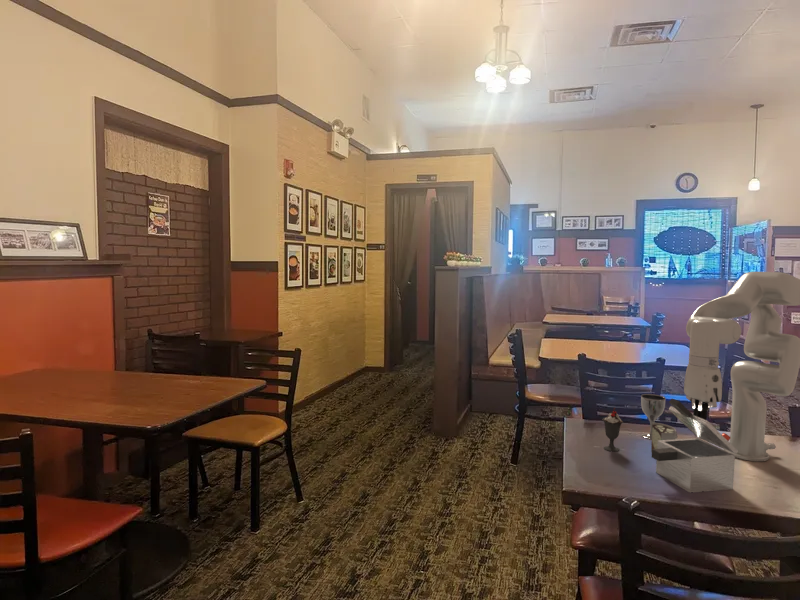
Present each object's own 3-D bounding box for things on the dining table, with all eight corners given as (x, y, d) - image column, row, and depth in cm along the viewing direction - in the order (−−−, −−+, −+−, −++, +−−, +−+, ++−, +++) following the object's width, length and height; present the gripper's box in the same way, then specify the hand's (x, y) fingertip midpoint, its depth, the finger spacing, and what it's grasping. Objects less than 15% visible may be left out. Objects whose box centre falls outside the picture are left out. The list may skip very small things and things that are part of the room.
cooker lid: (697, 437, 160) (703, 429, 161) (735, 454, 146) (742, 446, 146) (655, 397, 156) (661, 389, 157) (690, 410, 142) (697, 402, 143)
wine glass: (667, 440, 187) (669, 399, 185) (645, 440, 187) (647, 399, 185) (656, 433, 194) (658, 394, 193) (635, 433, 195) (637, 393, 193)
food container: (681, 466, 164) (683, 435, 163) (660, 464, 165) (662, 433, 164) (669, 452, 176) (671, 423, 175) (650, 450, 177) (651, 421, 176)
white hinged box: (696, 469, 161) (697, 437, 160) (732, 489, 147) (735, 454, 147) (638, 473, 157) (639, 441, 156) (670, 494, 144) (672, 459, 143)
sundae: (611, 453, 173) (613, 409, 172) (596, 447, 179) (598, 404, 178) (626, 451, 176) (628, 407, 175) (611, 444, 182) (613, 402, 181)
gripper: (735, 366, 146) (731, 430, 147) (695, 356, 160) (691, 414, 162) (712, 367, 144) (708, 431, 146) (674, 357, 159) (670, 415, 160)
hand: (699, 422), depth 154 cm, fingers closed
